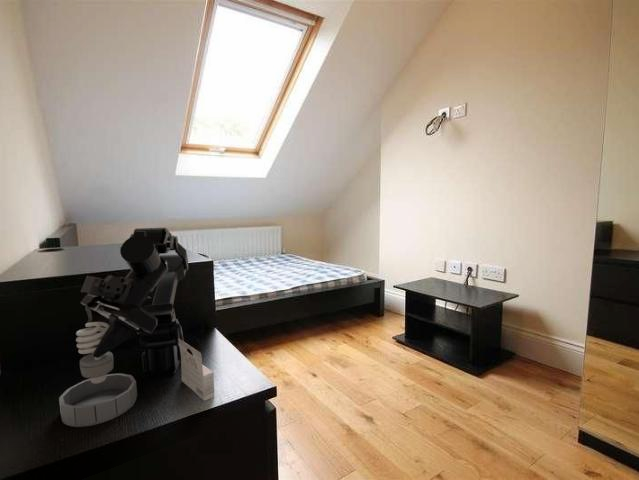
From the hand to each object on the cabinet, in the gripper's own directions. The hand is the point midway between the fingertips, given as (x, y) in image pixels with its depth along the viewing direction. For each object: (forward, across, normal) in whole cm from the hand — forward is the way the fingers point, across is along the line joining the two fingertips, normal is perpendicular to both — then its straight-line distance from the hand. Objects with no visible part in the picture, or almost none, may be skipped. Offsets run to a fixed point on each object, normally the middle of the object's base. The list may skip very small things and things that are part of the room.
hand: (87, 353), depth 65 cm
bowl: (+7, 0, +9) cm, 11 cm away
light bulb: (+4, 0, +6) cm, 7 cm away
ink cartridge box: (-3, +10, +19) cm, 22 cm away
